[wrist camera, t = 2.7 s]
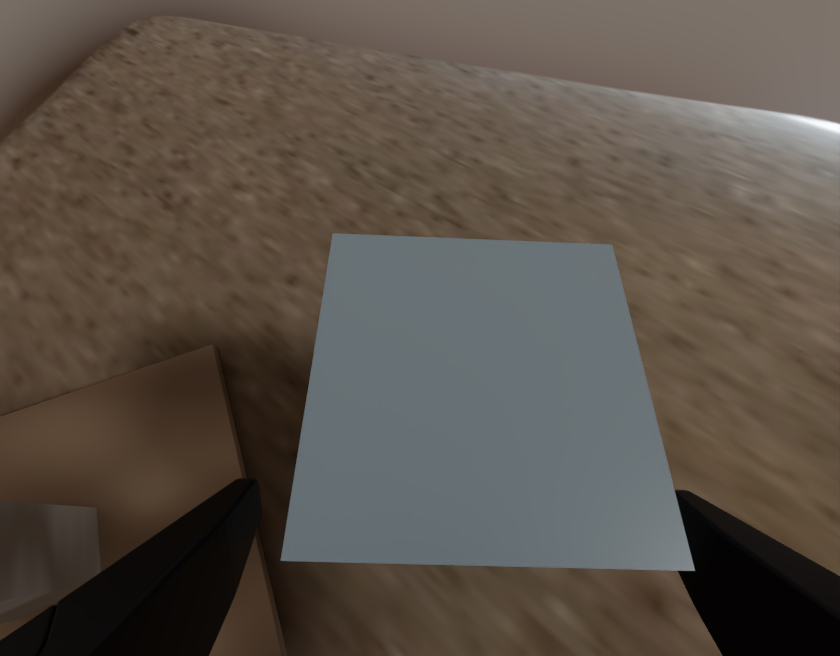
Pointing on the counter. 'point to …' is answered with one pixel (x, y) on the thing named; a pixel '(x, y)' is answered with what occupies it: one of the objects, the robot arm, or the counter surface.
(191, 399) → the post base
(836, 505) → the counter surface
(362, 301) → the tall slate pillar
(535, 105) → the counter surface
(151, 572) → the robot arm
